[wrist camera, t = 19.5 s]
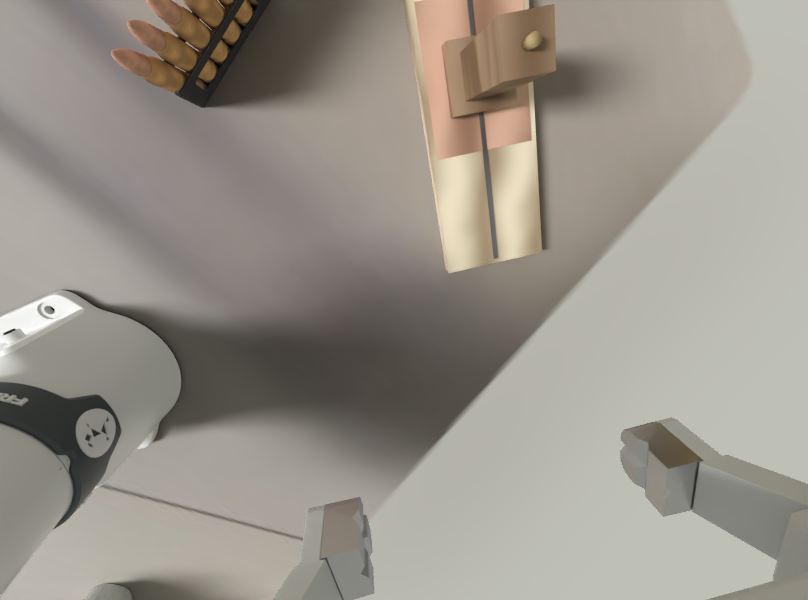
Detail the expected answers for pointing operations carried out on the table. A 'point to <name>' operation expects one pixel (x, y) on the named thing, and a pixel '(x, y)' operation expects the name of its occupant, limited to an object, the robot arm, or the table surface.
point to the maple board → (475, 145)
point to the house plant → (109, 593)
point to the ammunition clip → (214, 45)
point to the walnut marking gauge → (499, 60)
